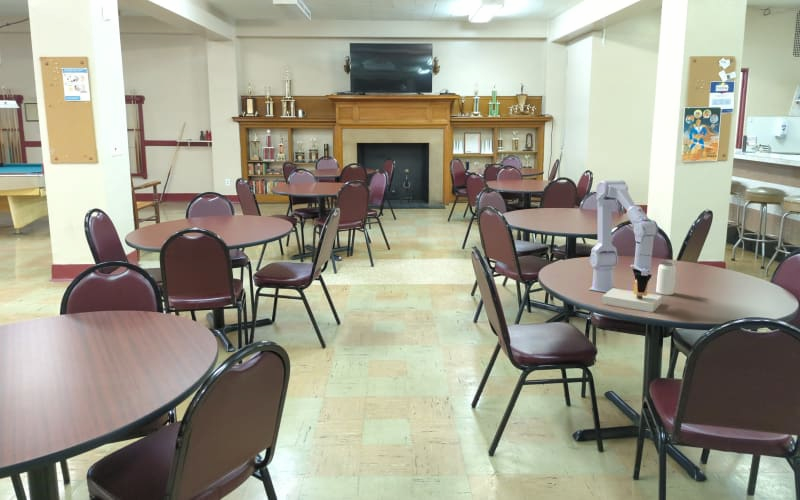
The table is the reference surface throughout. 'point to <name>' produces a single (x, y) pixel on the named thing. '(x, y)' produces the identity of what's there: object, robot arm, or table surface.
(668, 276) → the can
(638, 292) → the cap
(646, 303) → the junction box
